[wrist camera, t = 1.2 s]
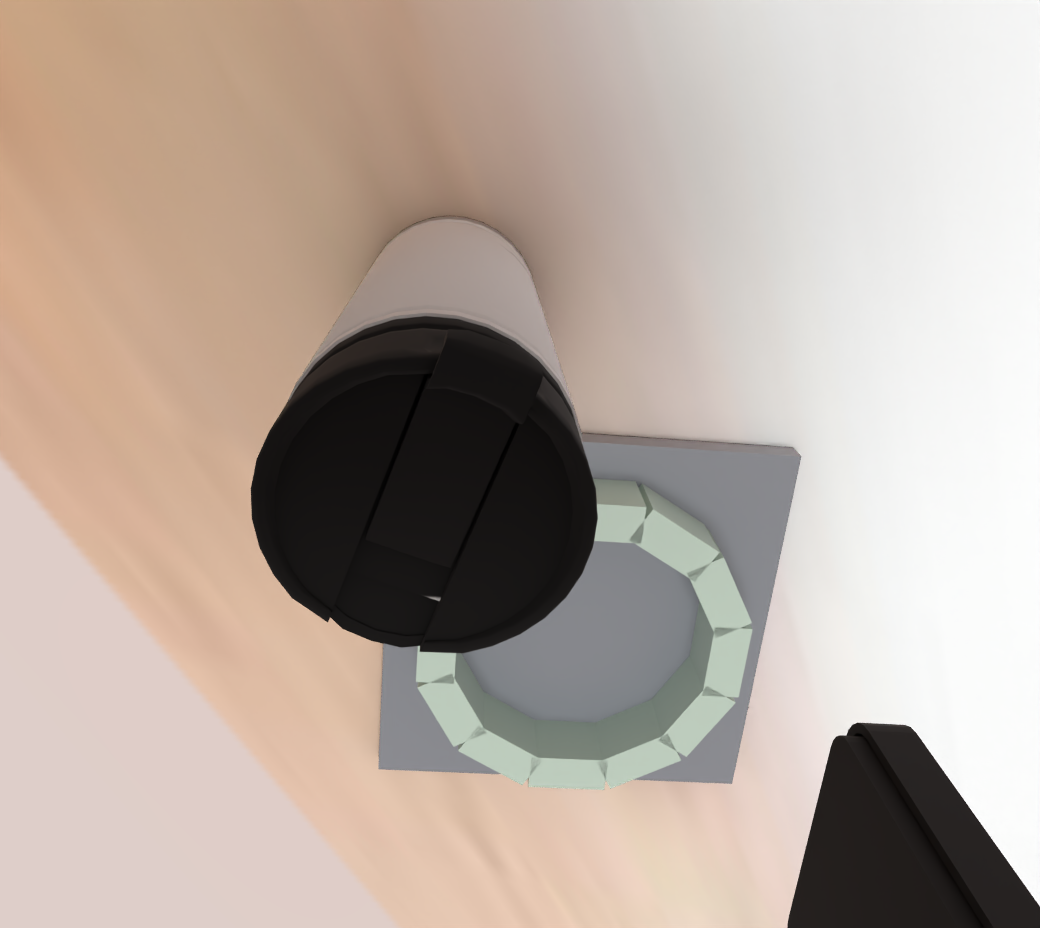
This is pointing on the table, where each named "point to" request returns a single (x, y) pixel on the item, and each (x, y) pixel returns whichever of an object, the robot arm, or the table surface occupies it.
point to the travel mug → (431, 454)
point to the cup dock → (618, 634)
